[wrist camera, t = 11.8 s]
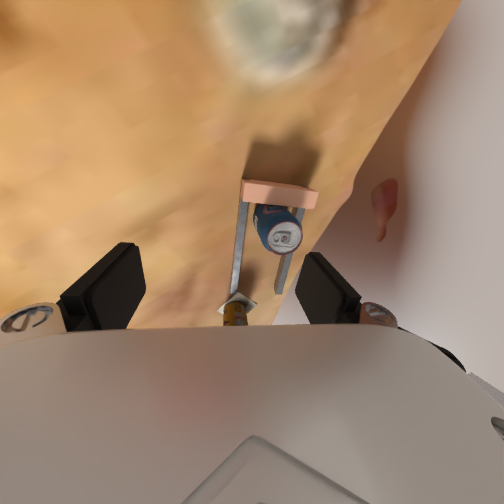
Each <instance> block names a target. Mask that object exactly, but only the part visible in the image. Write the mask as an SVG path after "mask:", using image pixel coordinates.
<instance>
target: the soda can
mask: <svg viewBox="0 0 504 504" xmlns="http://www.w3.org/2000/svg"><path fill="white" fill-rule="evenodd" d="M253 222H254V225H255V227H256V229H257V232H258V234H259V236H260V239H261V241H262V243H263V245H264V247H265V248H266V249H267V250H269V251H271V252H273V253H275V254H277V255H287V254H290V253H292V252H294V251H295V250H296V249H297V248H298V247H299V246H300V244H301V242H302V238H303V233H302V226H301V223H300V222H299V220H298V219H297V218H296V217H294V216H293V215H292V214H291V213H290V212H289V211H288V210H287V209H286V208H285V207H284V206H279V205H270V204H260V205H259V206H258V207H257V208H256V210H255V212H254V215H253Z"/></svg>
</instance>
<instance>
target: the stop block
mask: <svg viewBox="0 0 504 504" xmlns="http://www.w3.org/2000/svg"><path fill="white" fill-rule="evenodd" d="M250 180H251V181H249V180H243V179H241V190H240V196H241V198H242V201H243V202H252V203H261V204H270V205H279V206H289V207H298V208H307V209H314V208H315V204H316V201H317V198H318V194H319V192H317V191H315V190H313V189H310V188H303V187H301V186H298V185H291V184H283V183H276V182H268V181H261V180H253V179H250Z"/></svg>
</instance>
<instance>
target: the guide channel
mask: <svg viewBox="0 0 504 504" xmlns="http://www.w3.org/2000/svg"><path fill="white" fill-rule="evenodd" d="M242 179H243V180H249V181H251V180H250V179H246V178H242ZM301 187H303V188H308V187H306V186H301ZM240 190H241V188H240ZM247 209H248V202H243V201H242V198H241V196H240V198H239V207H238V217H237V226H236V236H235V245H234V255H233V264H232V274H231V283H230V294H237V287H238V279H239V272H240V264H241V256H242V248H243V240H244V233H245V225H246V217H247ZM304 211H305V208H298V207H293V210H292V215H293V216H294V217H296V218H297V219H298V220H299V222H300V223H301V222H302V218H303V215H304ZM292 255H293V252H292V253H290V254H287V255H282V256H281V260H280V264H279V268H278V272H277V276H276V280H275V284H274V290H275V293H276V294H282V291H283V288H284V284H285V280H286V277H287V273H288V269H289V266H290V262H291V258H292Z"/></svg>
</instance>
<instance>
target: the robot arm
mask: <svg viewBox="0 0 504 504" xmlns="http://www.w3.org/2000/svg"><path fill="white" fill-rule="evenodd" d="M145 292H146V284H145V279H144V273H143V268H142V262H141V257H140V251H139V247H138V246H135V244H134V243H125V242H120V243H118V244H117V245H116V246H115V247H114V248H113V249H112V250H111V251H110V252H108V253H107V254H106V255H105V256H104V257H103V258H102V259H101V260H99V261H98V262H97V263H96V264H95V265H94V266H93V267H92V268H90V269H89V270H88V271H87V272H86V273H85V274H84V275H83V276H81V277H80V278H79V279H78V280H77V281H76V282H75V283H74V284H72V285H71V286H70V287H69V288H68V289H67V290H66V291H65V292H64V293H62V294H61V295H60V298H61V299H60V300H59V301H58V302H57V303H56V304H54V303H48V302H44V303H36V304H32V305H28V306H25V307H23V308H20V309H17V310H15V311H13V312H11V313H9V314H8V315H6V316H5V317H3V318H2V319H0V504H504V393H502V392H501V391H499V390H498V389H496V388H495V387H493V386H491V385H490V384H488V383H487V382H485V381H484V380H482V379H481V378H479V377H478V376H476V375H474V374H473V373H471V372H470V373H469V374H466V370H465V368H464V366H463V365H462V364H461V362H460V361H459V360H458V359H457V358H456V357H455V356H454V355H453V354H452V353H451V352H449V351H448V350H446V349H444V348H442V347H439V346H438V345H435V344H433V343H431V342H429V341H427V340H425V339H423V338H421V337H419V336H417V335H415V334H413V333H410V332H408V331H407V330H405V329H402V328H400V327H398V325H397V320H396V317H395V316H394V315H393V314H392V313H391V312H390V311H389V310H388V309H386V308H385V307H383V306H381V305H379V304H376V303H372V302H364V303H363V304H361V303H360V302H359V301H360V300H361V298H362V297H361V296H360V295H359V294H358V293H357V292H356V291H355V289H354V288H353V287H352V286H351V285H350V284H349V283H348V282H347V281H346V280H345V279H344V278H343V277H342V276H341V275H340V274H339V272H338V271H337V270H336V269H335V268H334V267H333V266H332V265H331V264H330V263H329V262H328V261H327V260H326V259H325V258H324V257H323V255H322V254H320V253H319V252H309V253H308V254H306V256H305V259H304V262H303V265H302V269H301V272H300V275H299V279H298V282H297V285H296V289H295V293H296V296H297V298H298V300H299V301H300V304H301V306H302V308H303V310H304V312H305V314H306V316H307V318H308V320H309V322H310V324H296V325H248V326H209V327H175V328H142V329H126V327H127V325H128V323H129V322H130V320H131V318H132V316H133V314H134V313H135V311H136V309H137V307H138V305H139V303H140V302H141V300H142V298H143V296H144V294H145Z"/></svg>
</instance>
